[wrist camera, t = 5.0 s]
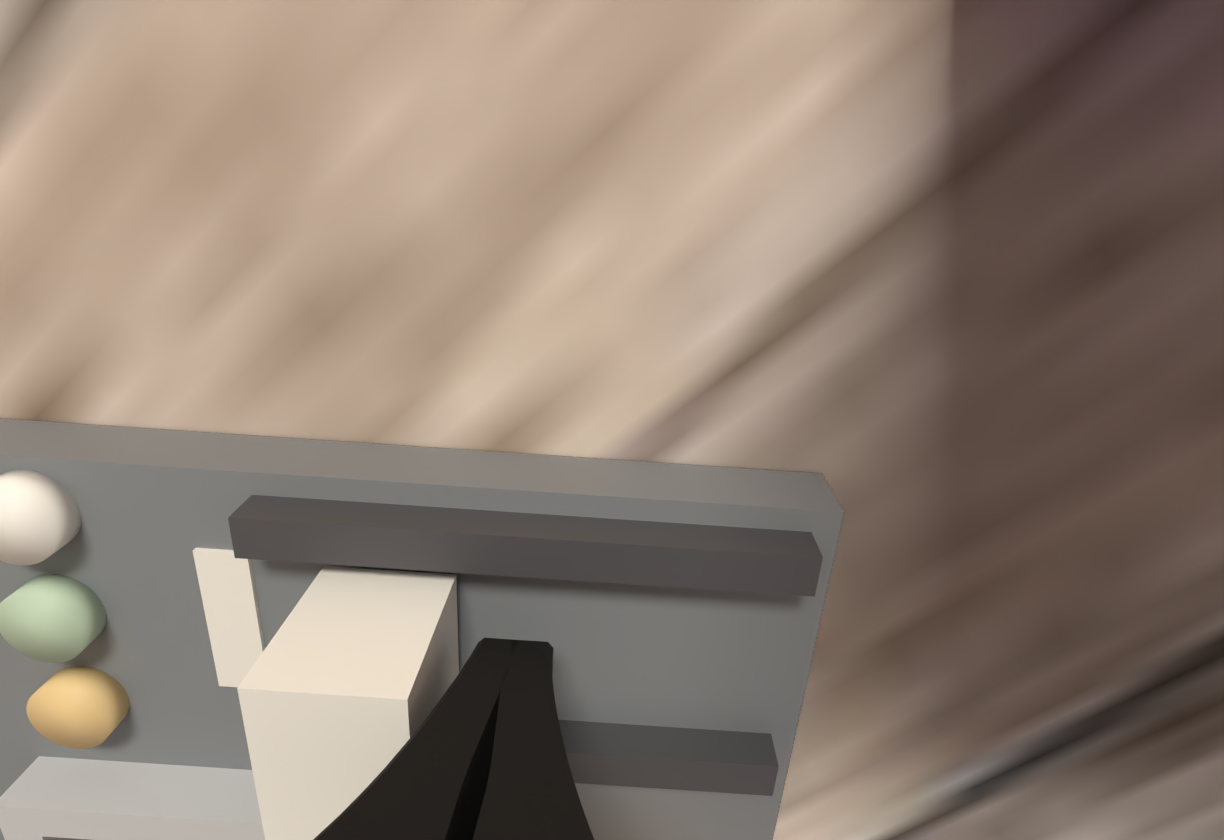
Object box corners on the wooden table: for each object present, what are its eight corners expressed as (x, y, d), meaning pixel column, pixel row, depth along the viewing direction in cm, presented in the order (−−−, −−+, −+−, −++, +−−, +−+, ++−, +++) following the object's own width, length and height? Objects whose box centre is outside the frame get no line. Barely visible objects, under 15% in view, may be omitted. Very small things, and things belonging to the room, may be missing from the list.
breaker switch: (459, 709, 14) (417, 854, 11) (339, 702, 14) (265, 844, 11) (456, 574, 13) (407, 699, 10) (323, 566, 13) (237, 688, 10)
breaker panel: (724, 965, 20) (738, 1087, 17) (83, 924, 19) (3, 1040, 17) (822, 473, 14) (865, 549, 11) (-97, 411, 14) (-261, 474, 11)
